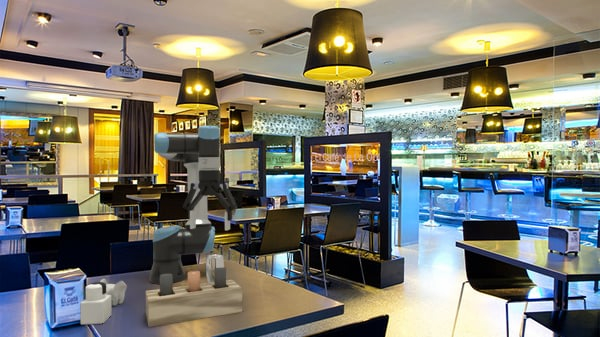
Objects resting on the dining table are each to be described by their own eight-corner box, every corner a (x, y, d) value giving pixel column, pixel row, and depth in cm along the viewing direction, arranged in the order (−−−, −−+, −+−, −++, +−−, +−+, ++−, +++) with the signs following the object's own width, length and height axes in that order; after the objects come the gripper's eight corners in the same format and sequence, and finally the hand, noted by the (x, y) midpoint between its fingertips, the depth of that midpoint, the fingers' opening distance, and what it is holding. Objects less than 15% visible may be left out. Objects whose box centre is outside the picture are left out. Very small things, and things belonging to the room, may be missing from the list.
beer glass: (220, 298, 154) (219, 258, 154) (202, 297, 155) (202, 257, 155) (227, 292, 161) (226, 254, 161) (210, 291, 162) (210, 254, 162)
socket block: (145, 314, 137) (145, 290, 137) (232, 301, 150) (232, 279, 150) (148, 327, 126) (148, 301, 126) (242, 311, 139) (241, 288, 139)
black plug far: (213, 290, 143) (213, 268, 143) (224, 288, 144) (224, 266, 144) (215, 293, 139) (215, 270, 139) (227, 291, 141) (227, 269, 141)
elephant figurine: (86, 308, 144) (86, 283, 144) (113, 298, 155) (113, 275, 155) (106, 311, 141) (106, 286, 141) (132, 301, 152) (132, 277, 152)
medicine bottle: (89, 316, 136) (89, 280, 136) (111, 315, 137) (111, 280, 137) (80, 324, 129) (79, 287, 129) (103, 323, 129) (102, 286, 129)
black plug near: (159, 297, 135) (159, 274, 135) (171, 296, 137) (171, 273, 137) (160, 301, 132) (160, 277, 132) (173, 299, 133) (173, 275, 133)
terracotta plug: (187, 294, 139) (186, 271, 139) (198, 292, 141) (198, 269, 141) (189, 297, 135) (188, 273, 135) (201, 295, 137) (200, 272, 137)
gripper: (172, 169, 144) (173, 229, 144) (237, 169, 137) (238, 232, 138) (183, 169, 151) (184, 226, 152) (246, 169, 145) (246, 228, 145)
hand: (210, 229), depth 145 cm, fingers open, 13 cm apart
